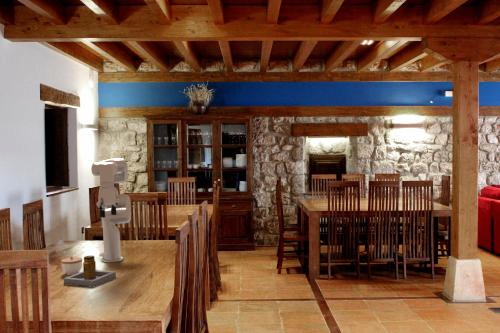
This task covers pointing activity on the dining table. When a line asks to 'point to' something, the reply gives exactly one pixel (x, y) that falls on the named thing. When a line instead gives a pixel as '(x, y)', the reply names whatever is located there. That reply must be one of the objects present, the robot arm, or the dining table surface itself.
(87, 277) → the condiment
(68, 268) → the lidded jar
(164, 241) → the dining table surface
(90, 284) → the tray
